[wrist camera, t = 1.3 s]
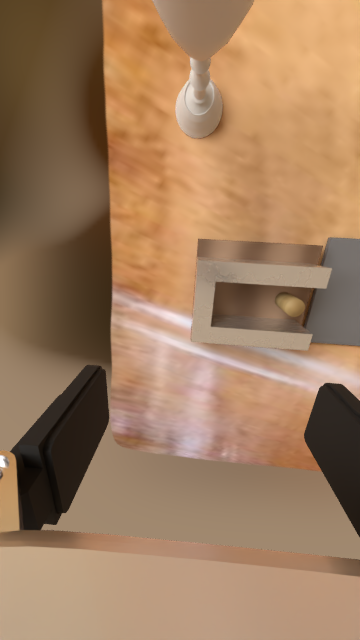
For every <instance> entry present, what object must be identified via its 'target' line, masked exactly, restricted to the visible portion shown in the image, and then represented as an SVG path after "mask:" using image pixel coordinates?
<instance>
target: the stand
mask: <svg viewBox="0 0 360 640" xmlns="http://www.w3.org/2000/svg"><path fill="white" fill-rule="evenodd" d="M322 248H323V246H317V245H299V244H281V243H263V242H245V241H228V240H210V239H198V249H197V257H208V258H225V259H242V260H258V261H275V262H292V263H309V264H314V265H318V262H319V259H320V255H321V251H322ZM196 267H197V262H196ZM195 279H196V275H195ZM194 292H195V288H194ZM310 292H311V288H307V287H291V286H276V285H260V284H245V283H229V282H216V283H215V292H214V301H213V310H212V314H219V315H233V316H247V317H261V318H275V319H289V320H296V321H297V322H298V323H299V324H300V325H302V321H303V318H304V314H305V310H306V307H307V303H308V299H309V296H310ZM193 305H194V301H193ZM192 318H193V314H192ZM191 335H192V327H191Z"/></svg>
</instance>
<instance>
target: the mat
mask: <svg viewBox="0 0 360 640" xmlns="http://www.w3.org/2000/svg"><path fill="white" fill-rule="evenodd" d="M321 266H324V267H328V268H332V271H331V274H330V278H329V281H328V285H327V288H326V289H323V288H314V292H313V295H312V299H311V303H310V306H309V310H308V313H307V317H306V321H305V324H304V328H305V329H307V330H308V331H309V332H310V333H312V334H313V335H312V339H311V342H315V343H328V344H341V345H354V346H360V239H349V238H328V241H327V245H326V248H325V252H324V255H323V259H322V263H321Z"/></svg>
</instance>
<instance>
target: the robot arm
mask: <svg viewBox="0 0 360 640" xmlns="http://www.w3.org/2000/svg"><path fill="white" fill-rule="evenodd" d="M108 422H109V409H108V396H107V384H106V371H105V370H104V369H102V367H101V366H97V365H87V366H85V368H84V369H83V370H82V371H81V372H80V373H79V375H78V376H77V377H76V378H75V379H74V380H73V381H72V383H71V384H70V385H69V386H68V387H67V388H66V390H65V391H64V392H63V393H62V394H61V395H59V396H58V397H57V398H56V399H55V401H54V402H53V403H52V404H51V405H50V406H49V407H48V409H47V410H46V411H45V412H44V413H43V414H42V415H41V417H40V418H39V419H38V420H37V421H36V422H35V423H34V425H33V426H32V427H31V428H30V429H29V430H28V431H27V433H26V434H25V435H24V436H23V437H22V438H21V439H20V441H19V442H18V443H17V444H16V445H15V446H14V448H13V449H12V450H11V451H5V450H1V451H0V640H360V560H357V559H347V558H339V557H330V556H319V555H311V554H301V553H292V552H282V551H272V550H262V549H252V548H243V547H232V546H223V545H213V544H203V543H192V542H182V541H172V540H160V539H151V538H140V537H130V536H118V535H109V534H94V533H81V532H68V531H54V530H41V528H42V526H43V524H52V525H56V524H57V522H58V520H59V518H60V516H61V514H62V513H66V512H67V511H68V509H69V507H70V505H71V503H72V501H73V499H74V497H75V494H76V492H77V490H78V488H79V485H80V483H81V481H82V479H83V477H84V475H85V473H86V471H87V469H88V466H89V464H90V462H91V460H92V458H93V456H94V453H95V451H96V449H97V447H98V444H99V442H100V440H101V438H102V436H103V434H104V432H105V430H106V427H107V425H108ZM304 438H305V442H306V444H307V446H308V447H309V449H310V451H311V453H312V454H313V456H314V458H315V460H316V461H317V463H318V465H319V467H320V468H321V470H322V472H323V474H324V475H325V477H326V479H327V481H328V483H329V484H330V486H331V488H332V490H333V491H334V493H335V495H336V497H337V498H338V500H339V502H340V504H341V505H342V507H343V509H344V511H345V512H346V514H347V516H348V518H349V519H350V521H351V523H352V525H353V526H354V528H355V530H356V532H357V534H358V535H359V537H360V401H359V400H358V399H357V398H356V397H355V396H354V395H353V394H352V393H351V392H350V391H349V390H348V389H347V388H346V387H345V386H343V385H342V384H334V383H325V384H324V385H323V386H321V387H320V388H319V391H318V394H317V397H316V400H315V403H314V406H313V409H312V412H311V415H310V418H309V421H308V424H307V427H306V430H305V433H304Z"/></svg>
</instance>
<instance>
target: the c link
mask: <svg viewBox="0 0 360 640" xmlns="http://www.w3.org/2000/svg"><path fill="white" fill-rule="evenodd" d="M331 271H332V268H328V267H324V266H319V265H314V264H309V263H292V262H275V261H258V260H242V259H225V258H208V257H197V267H196V279H195V292H194V305H193V318H192V335H191V342H201V343H214V344H227V345H240V346H253V347H266V348H279V349H292V350H305V351H308V349H309V345H310V342H311V339H312V335H313V334H312V333H310V332H309V331H308V330H307V329H305V328H304V327H303V326H302V325H300V324H299V323H298V322H297V321H296V320H289V319H275V318H261V317H247V316H233V315H219V314H212V310H213V301H214V292H215V283H216V282H229V283H245V284H260V285H276V286H291V287H307V288H323V289H326V288H327V285H328V281H329V278H330V274H331Z"/></svg>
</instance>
